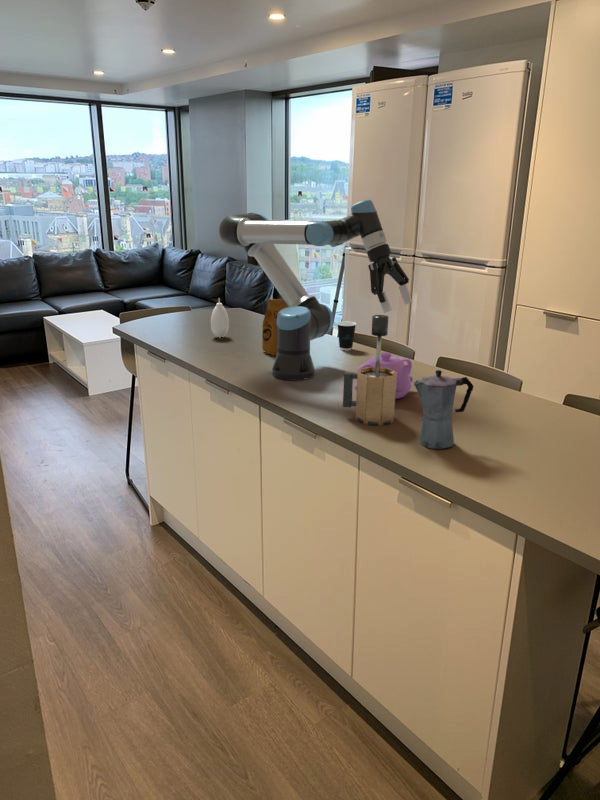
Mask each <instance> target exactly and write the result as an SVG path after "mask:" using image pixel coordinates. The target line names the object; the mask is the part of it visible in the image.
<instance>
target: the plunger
mask: <svg viewBox="0 0 600 800" xmlns="http://www.w3.org/2000/svg"><path fill="white" fill-rule="evenodd" d="M371 317H372V319H371V336H375V337H376V351H375V353H376V354H375V356H376V368H375V372H370V373H366V374H364V375H366V376H369V377H388V376H390V375H389V374H386V373H381V372H380V356H381V353H382V350H381V349H382V337H387V336H388V333H389V332H388V331H389V316H388V315H386V314H385V315H384V314H374V315H372V316H371Z"/></svg>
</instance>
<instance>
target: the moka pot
mask: <svg viewBox="0 0 600 800" xmlns="http://www.w3.org/2000/svg"><path fill="white" fill-rule="evenodd" d="M442 372H443V371H442V370H441V369H438V370H435V375H431V376H426V377H425V376H424V377H422V378H421V379H418V380H415V382H413V383H412V386H414V387H415V390H416V392H417V393H418V396H419V398H420V401H421V409H422V410H423V411H422V412H423V416H422V417H421V421H422V425H421V433H420V439H419V443H420V444H421V446H423V447H425V448H427V449H434V450H441V449H443V450H444V449H448V448H450V447H453V446H454V444H455V441H454V440H455V439H454V429H453V419H452V415H453V407H454V401H455V395H456V390H457V387H459V386H463V385H467V387H468V388H466V393H465V396H464V398H463V402H462V405H461V406H460V407H459V408H455V409H454V413H463V412H465V409H466V407H467V404H468V403H469V400H470V397H471V394H472V392H473V390H474V385H473V383H472V382H471V381H470V380H469V378H468V377H467V376H464V377H461V378H460V377H453V378H452V377H450V376H447V375H446V376H444V375H443V376H442Z"/></svg>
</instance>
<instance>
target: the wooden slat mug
mask: <svg viewBox="0 0 600 800" xmlns="http://www.w3.org/2000/svg"><path fill="white" fill-rule="evenodd" d="M375 368H376V367H367V368H361V369H359V371H358V370H357V372H356V373H355V372H344V373H343V390H342V391H343V394H342V396H343V397H342V408H350V409H351V408H353V407H354V408H355V421H357V422H359V423H361V424H364V425H368V426H378V427H380V426H385V425H386V426H387V425H390V424H393V423H394V422H395V410H396V409H395V408H396V399H395V396H396V381H397V371H395V370H392V369H389V368H384V367H380V372H381V373H386V374H389V375H390V376H388V377H369V376H366V375H364V374H366V373H370V372H375ZM354 380H356V383H357V391H356V398H355V399H356V400H353V386H354V385H353V384H354V382H353V381H354Z"/></svg>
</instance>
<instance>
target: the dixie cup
mask: <svg viewBox="0 0 600 800" xmlns="http://www.w3.org/2000/svg"><path fill="white" fill-rule="evenodd" d="M336 325H337V334H338V345H339V346H338V347H339V350H340V351H343V350H345V352H349V350H350V351H352V350H353V346H354V341H355V340H354V338H355V331H356V325H357V322H355V321H345V320H342V321H338V322H337V323H336ZM351 349H352V350H351Z"/></svg>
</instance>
